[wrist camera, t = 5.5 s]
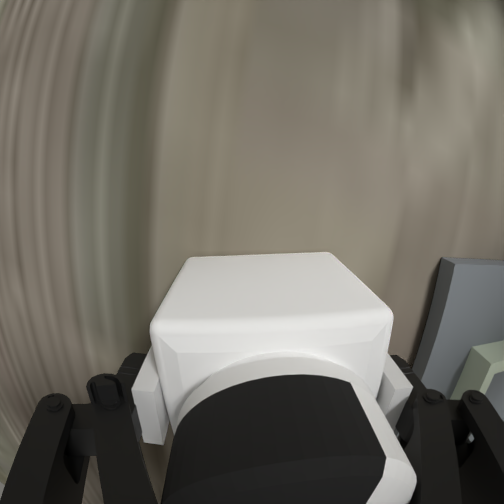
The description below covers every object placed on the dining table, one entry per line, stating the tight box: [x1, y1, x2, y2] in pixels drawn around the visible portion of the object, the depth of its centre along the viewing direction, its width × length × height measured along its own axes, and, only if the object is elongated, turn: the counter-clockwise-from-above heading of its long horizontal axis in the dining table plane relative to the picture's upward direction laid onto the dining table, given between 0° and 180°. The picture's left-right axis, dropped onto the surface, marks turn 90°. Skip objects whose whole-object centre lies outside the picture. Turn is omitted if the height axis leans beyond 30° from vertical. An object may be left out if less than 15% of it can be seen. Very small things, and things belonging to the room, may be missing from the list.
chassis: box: [394, 257, 504, 442], centre depth 18 cm, size 26×22×4 cm
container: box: [150, 252, 417, 504], centre depth 11 cm, size 8×8×13 cm
